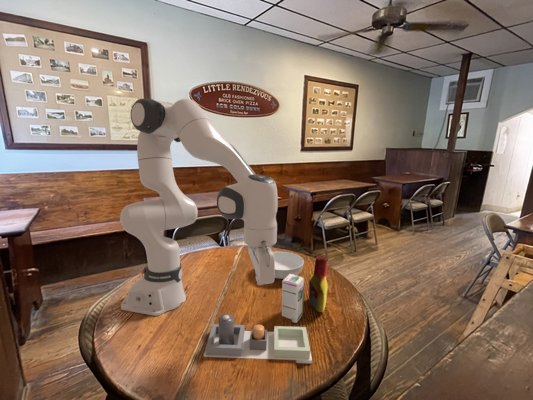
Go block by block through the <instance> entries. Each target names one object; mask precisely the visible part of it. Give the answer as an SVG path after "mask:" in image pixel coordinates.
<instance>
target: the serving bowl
mask: <svg viewBox="0 0 533 400" xmlns="http://www.w3.org/2000/svg"><path fill="white" fill-rule="evenodd" d="M272 252H273V254H274V261H275V279H280V280H281V279H283V280H284V279H285V278H286V277H287V276H288V275H289V274H294V275H299V274H300V273H301V271H302V270H303V267H304V264H305V259H304V258H303V257H302V256H300V255H298V254H296V253H292V252H289V251H272Z"/></svg>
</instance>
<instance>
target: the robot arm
mask: <svg viewBox="0 0 533 400" xmlns="http://www.w3.org/2000/svg"><path fill="white" fill-rule="evenodd" d="M208 116H209V115H207V114H206V112H205V111H204V110H203V108H202V107H201V106H200V105H199V104H198V103H197V102H196V101H195V100H193V99H190V98H182V99H178V100H177V101H175V102H174V103H172V102H165V101H161V100H155V99H153V98H139V99H137V100H136V101H135V102H134V103H133V104H132V107H131V109H130V121H131V122H132V125H133V127H134V129H136V130H137V131H139V133H138V135H137V142H136V143H137V147H136V148H137V150H136V151H137V154H136V157H137V165H138V166H137V167H138V173H139V174H138V175H139V181H140V183H141V185H142V186H144V187H145V188H146V189H149V190H151V191H154V192H156V193H158V195H159V197H160V199H154V200H152V199H151V200H143V201H142V200H140V201H136V202H133V203H132V202H131V203H130V204H126V205H125V206H124V207H123V208H122V210H121V211H120V215H119V222H120V225H121V227H122V229H123V230H125V232H127V234H130V235H132V236H134V237H135V238H137V239H138V240H139V241H140V242H141V243H142V245H143V246H144V248H145V249H144V250H145V253H146V254H145V255H146V259H147V264H146V266H145V267H144V268H143V270H141V273H140V275H141V277H140V278H139V279H137V280H135V282H134V283H133V284H132V285H131V286H130V288H129V290H128V294H127V296H126V297H124V298H123V300H122V302H121V304H120V310H122V311H124V312H130V313H131V312H132V313H137V314H142V315H143V314H144V315H147V316H148V315H149V316H155V317H158V316H161V315H163V314H164V313H166V312H169V311H171V310H175V309H177V308H179V307H180V306H181V304H182V303H185V302H186V299H187V295H186V293H185V290H184V286H183V281H182V278H183V267H182V263H181V255H180V254H181V253H180V245H179V244H178V243H179V242H177V241H176V240H175V239H172V238H170V237H167V236H163V235H162V233H163V231H167V230H173V229H179V228H180V229H181V228H184V227H187V226H189V225H192V224H194V223H195V222H196V221H197V218H198V215H199V213H198V211H199V210H198V206H197V205H196V203H195V201H194V200H193V199H191V198H189V197H188V196H187V195H185V193H183V192H182V190H181V189H180V188H179V186H178V184H177V181H176V178H175V175H174V174H175V173H174V168H173V166H174V165H173V159H172V153H171V152H172V151H171V145H172V142H173V141H174V142H176V143H181V144H182V146H183V147H184V149H185V151H187V153H189V155H190V156H192V157H194V158H195V159H198V160H201V161H206V162H209V163H210V162H211V163H215V164H217V165H219V166H222V167H223V168H225V169H226V170H227V171H228V172H229V173H230V174H231V175H232V177H233V178H234V179H235V181H236V182H237V183H234V184H233V183H232V184H230V185H226V186H224V187H222V188H220V190H219V191H218V192H217V196H216V207H217V211H219V214H220V215H221V216H222V217H223V218H225V219H227V220H242V221H243V223H244V224H243V242H244V244H246V245H247V252H248V255H249V258H250V260H251V263H252V266H253V269H254V272H255V281H256V283H257V286H264V285H267V284H273V283H274V282H275V279H276V278H275V261H274V254H273V252H274V251H273V250H272V248H273V246H274V245H275V244H276V243H277V238H278V236H277V235H278V222H277V213H278V206H279V205H278V204H279V198H278V197H279V196H278V188H277V184H276V181H275V180H274V179H273V178H272V177H271V176H269V175H264V174H259V173H257V174H256V172H254V170H253V169H252V168H251V166H250V165H249V163H248V162H247V161H246V160H245V159H244V157H243V156H242V155H241V154H240V152H239V151H238V150H237V149H236V148H235V147H234V145H232V144H231V143H230V142H229V141H228V140H227V139H226V138H225V137H224V136H223V135H222V134H221V133H220V132H219V130H218V129H217V128H216V127H215V125H214V124H213V123H212V121H211V119H210V118H209V117H208Z"/></svg>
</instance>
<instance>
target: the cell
mask: <svg viewBox="0 0 533 400" xmlns="http://www.w3.org/2000/svg"><path fill="white" fill-rule="evenodd" d="M217 320H218V324H219V344H221V345H233V344H234V325H235V317H234V316H233V315H232V314H230V313H225V314H222V315H220V316H219V317H218V319H217Z"/></svg>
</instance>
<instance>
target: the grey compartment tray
mask: <svg viewBox="0 0 533 400" xmlns="http://www.w3.org/2000/svg"><path fill="white" fill-rule="evenodd" d="M245 326H246V325H245V324H234V344H233V345H221V344H219V323H213V324H212V327H211V329H210V333H209V335H208V339H207V342H206V345H205V351H204V352H203V357H205V358H229V359H230V358H231V359H252V360H253V359H254V360H256V359H257V360H283V361H284V360H287V361H295V363H296V364H308V365H309V364H310V365H311V364H312V363H313V357H312V353H311V346H310V342H309V336H308V331H307V327H306V326H282V325H274V326H273V328H274V329H273V331H268V329H264V340H254V339H253V329H252V328H251V329H250V330H245Z"/></svg>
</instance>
